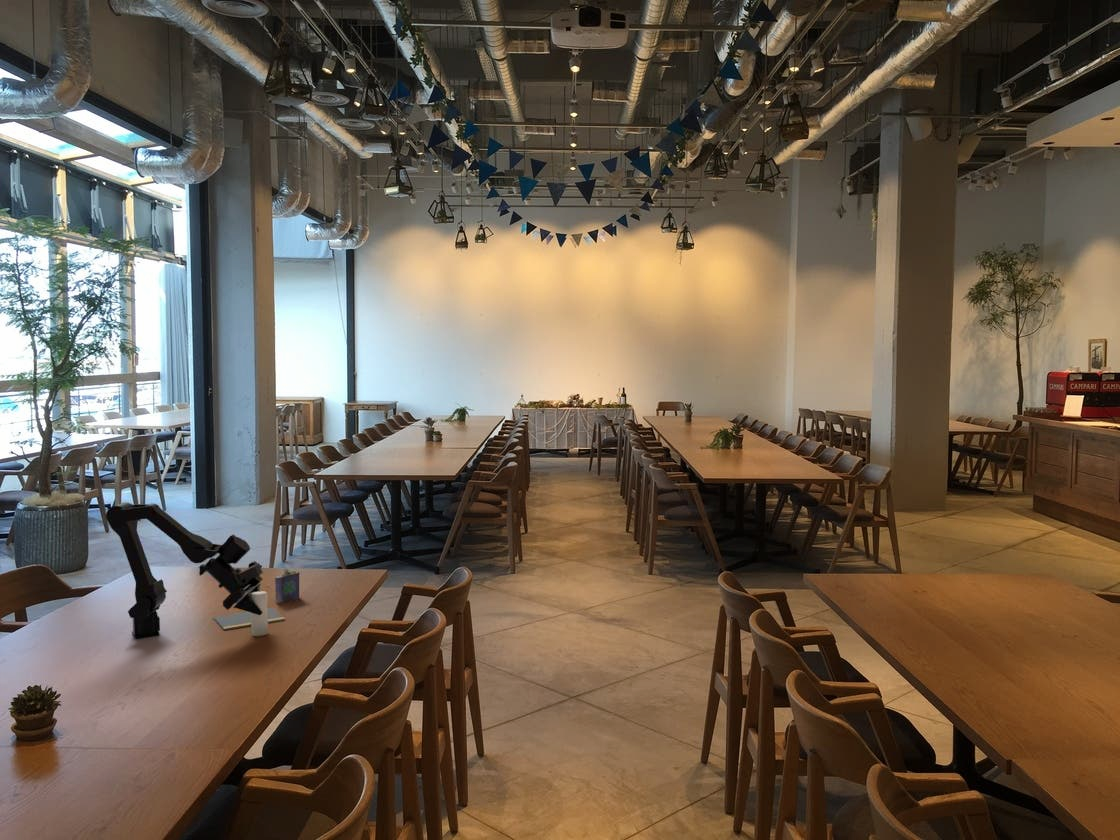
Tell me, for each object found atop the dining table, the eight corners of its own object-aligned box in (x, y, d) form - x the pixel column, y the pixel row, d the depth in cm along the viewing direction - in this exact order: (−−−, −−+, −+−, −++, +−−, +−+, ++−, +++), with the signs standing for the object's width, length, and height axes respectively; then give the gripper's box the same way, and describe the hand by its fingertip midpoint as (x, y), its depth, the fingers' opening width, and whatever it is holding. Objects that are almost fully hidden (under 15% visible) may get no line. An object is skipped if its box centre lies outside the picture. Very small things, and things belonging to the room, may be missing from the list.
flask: (278, 604, 285) (278, 572, 284) (272, 603, 287) (272, 571, 286) (301, 598, 293) (300, 566, 292) (295, 596, 294) (295, 565, 294)
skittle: (253, 637, 252) (252, 596, 251) (249, 632, 256) (248, 592, 255) (269, 634, 255) (269, 594, 254) (265, 630, 259) (264, 590, 258)
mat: (224, 630, 258) (224, 628, 258) (213, 618, 270) (213, 616, 270) (285, 620, 269) (285, 618, 268) (272, 609, 280) (272, 607, 280)
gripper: (232, 563, 244) (273, 601, 245) (255, 548, 263) (292, 584, 264) (205, 590, 245) (245, 628, 246) (229, 573, 263) (266, 609, 264)
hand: (264, 611), depth 255 cm, fingers closed on skittle, 5 cm apart
